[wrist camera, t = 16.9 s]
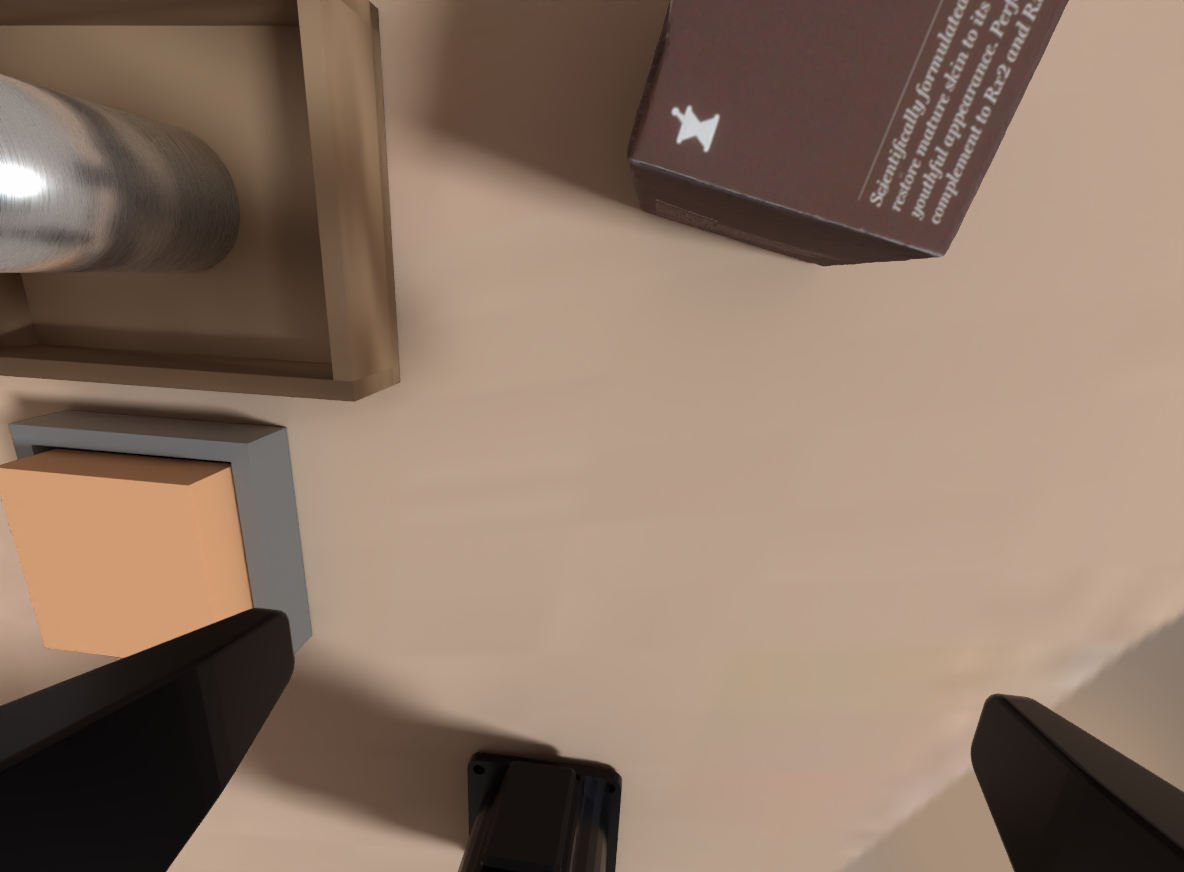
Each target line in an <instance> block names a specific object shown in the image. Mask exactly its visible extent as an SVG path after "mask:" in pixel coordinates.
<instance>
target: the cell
mask: <svg viewBox="0 0 1184 872" xmlns="http://www.w3.org/2000/svg"><path fill="white" fill-rule="evenodd" d="M239 224H240V206H239V200H238V194H237V191H236V188H235V185H234V182H233V180H232V177H231V175H230V173H229V171H228V169H227V168H226V166H225V164H224V163H223V161H222V160H221V159H220V157H219V156H218V155H217V154H216V152H215V151H214V150H213V149H212V148H211V147H210V146H209V145H208V144H207V143H205V142H204V141H203V140H201V139H200V138H199V137H197V136H195V135H194V134H192V133H190V132H188V131H186V130H183V129H181V128H177V127H174V126H171V125H168V124H164V123H161V122H158V121H154V120H151V119H148V118H144V117H141V116H138V115H134V114H131V113H128V112H124V111H121V110H118V109H115V108H111V107H108V106H105V105H101V104H98V103H95V102H91V101H88V100H85V99H81V98H78V97H75V96H72V95H68V94H65V93H62V92H58V91H55V90H52V89H48V88H45V87H42V86H38V85H35V84H32V83H29V82H25V81H22V80H19V79H15V78H12V77H9V76H5V75H2V74H0V273H196V272H201V271H205V270H208V269H210V268H212V267H214V266H216V265H217V264H219V263H220V262H221V261H222V260H223V259H224V258H225V257H226V256H227V255H228V254H229V252H230V251H231V249H232V247H233V245H234V243H235V241H236V238H237V235H238V231H239Z"/></svg>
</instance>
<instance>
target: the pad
mask: <svg viewBox="0 0 1184 872" xmlns="http://www.w3.org/2000/svg"><path fill="white" fill-rule="evenodd" d="M0 496H1V499H2V502H3V506H4V509H5V513H6V516H7V519H8V523H9V526H10V530H11V533H12V536H13V540H14V543H15V547H16V550H17V553H18V557H19V560H20V564H21V567H22V570H23V574H24V577H25V580H26V584H27V587H28V591H29V594H30V597H31V601H32V604H33V608H34V611H35V614H36V618H37V621H38V625H39V628H40V631H41V635H42V638H43V642H44V645H45V648H53V649H61V650H68V651H76V652H84V653H92V654H99V655H107V656H115V657H123V658H125V657H128V656H130V655H133V654H135V653H138V652H140V651H143V650H146V649H148V648H151V647H153V646H156V645H158V644H161V643H164V642H166V641H169V640H171V639H174V638H176V637H179V636H182V635H184V634H187V633H189V632H192V631H194V630H197V629H200V628H202V627H205V626H207V625H210V624H212V623H215V622H218V621H220V620H223V619H225V618H228V617H230V616H233V615H236V614H238V613H241V612H243V611H246V610H248V609H251V608H254V604H253V598H252V592H251V585H250V579H249V573H248V566H247V560H246V554H245V548H244V541H243V535H242V529H241V522H240V516H239V510H238V503H237V497H236V491H235V484H234V478H233V472H232V465H231V464H226V463H215V462H203V461H192V460H181V459H169V458H158V457H146V456H135V455H124V454H112V453H101V452H90V451H78V450H67V449H53V450H50V451H46V452H43V453H40V454H36V455H33V456H29V457H26V458H22V459H19V460H16V461H12V462H9V463H5V464H2V465H0Z"/></svg>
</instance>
